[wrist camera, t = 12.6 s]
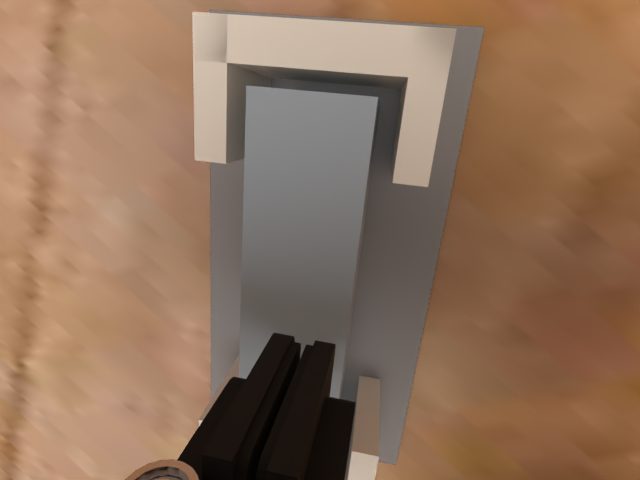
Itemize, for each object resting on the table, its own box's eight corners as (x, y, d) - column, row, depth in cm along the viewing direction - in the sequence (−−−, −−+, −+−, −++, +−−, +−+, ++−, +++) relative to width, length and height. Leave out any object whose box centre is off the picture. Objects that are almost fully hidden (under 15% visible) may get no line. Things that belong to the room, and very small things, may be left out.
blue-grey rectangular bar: (290, 95, 15) (246, 85, 10) (379, 103, 14) (378, 96, 10) (272, 389, 19) (236, 477, 15) (340, 402, 19) (326, 497, 14)
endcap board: (480, 31, 14) (530, -16, 9) (395, 455, 20) (399, 558, 15) (216, 13, 15) (139, -34, 10) (215, 418, 21) (167, 504, 17)
